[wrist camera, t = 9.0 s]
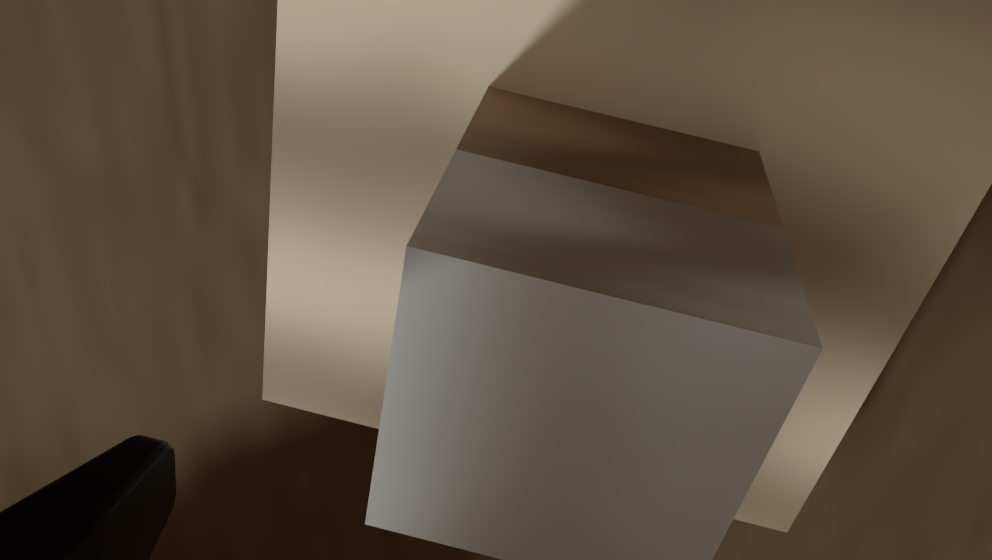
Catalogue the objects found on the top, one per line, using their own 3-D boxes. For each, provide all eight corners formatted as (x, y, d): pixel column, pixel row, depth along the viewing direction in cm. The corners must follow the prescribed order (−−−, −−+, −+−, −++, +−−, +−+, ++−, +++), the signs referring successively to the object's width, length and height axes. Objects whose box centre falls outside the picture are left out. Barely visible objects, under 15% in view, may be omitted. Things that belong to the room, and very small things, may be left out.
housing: (759, 151, 14) (822, 348, 9) (673, 364, 17) (686, 607, 12) (488, 86, 14) (406, 246, 9) (446, 307, 17) (364, 524, 12)
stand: (772, 458, 21) (786, 532, 19) (299, 339, 22) (262, 399, 19) (1046, -57, 14) (1117, -30, 12) (338, -219, 15) (286, -220, 12)
